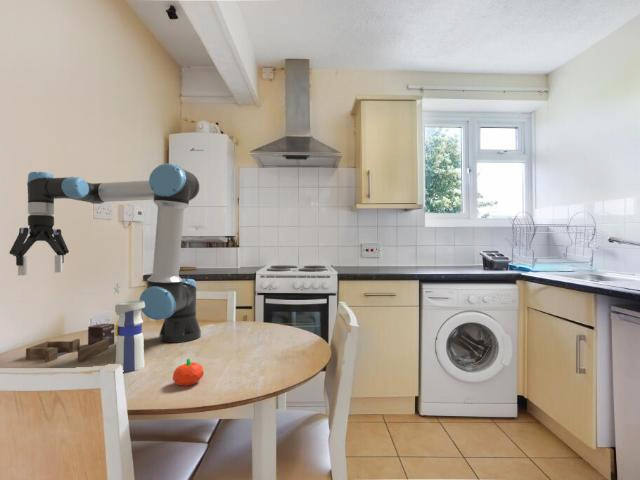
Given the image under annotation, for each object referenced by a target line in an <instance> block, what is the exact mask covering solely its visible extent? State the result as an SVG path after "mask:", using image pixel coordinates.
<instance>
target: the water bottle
mask: <svg viewBox="0 0 640 480" xmlns="http://www.w3.org/2000/svg"><path fill="white" fill-rule="evenodd" d="M120 288H121V286H119V284H118V283H117V282H116V285H115V287H113V289H114V295H117V294H119V293H120V291H119V290H120ZM144 307H145V303H144V301H139V300H126V301H125V300H124V301H119V302H117V303H116V304H115V306H114V312H115V313H116V316H119V317H118V320H117V322H116V324H115V336H116V341H115V364H121V365H122V366H123V370H124V372H123V373H131V372H135V371H140V370H142V369H144V368H145V352H144V350H145V348H144V347H145V346H144V343H145V342H144V339H145V338H144V333H143V330H142V326H143V323H144V320H143V319H142V308H144Z"/></svg>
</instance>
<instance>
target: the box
mask: <svg viewBox="0 0 640 480" xmlns="http://www.w3.org/2000/svg"><path fill="white" fill-rule="evenodd" d="M104 339H109V346H110V345H114V344H115V324H114V323H98V324H93V325H90V326H88V327H87V347H88V346H90V345H92V344H95V343H97V342H99V341H102V340H104Z"/></svg>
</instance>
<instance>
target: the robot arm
mask: <svg viewBox="0 0 640 480" xmlns="http://www.w3.org/2000/svg"><path fill="white" fill-rule="evenodd" d="M26 184H27V214H28V216H27V225H28V227H20V228H19V230H18V231H19V232H18V235H17V237H16V239H15V241H14V242H13V244H12V247H11V249H10V250H9V255H13V257H15V265H16V266H17V275H18V276H28V275H27V274H28V272H27V270H28V269H27V268H28V266H27V264H28V263H27V262H28V259H27V256H25V255H26V253H27V252H28V251H29V250H30V249H31V248H32V246H33V245H34V244H35V243H36V242H38V241H39V242H46V243H47V244H48V245H49V247H50V248H51V249H52V250H53V251H54V253H55V254H56V255H54V273H63V271H64V270H63V268H64V267H63V264H64V263H65V262H64V260H65V259H64V257H65V256H66V255H67V254H69V252H70V251H69V248H68V247H67V244H66V242H65V239H64V237H63V235H62V230H61V229H60V228H57V229H55V228H54V225H55V216H54V215H55V200H57V199H67V200H68V199H69V200H74V201H80V202H86V203H90V204H94V205H95V204H96V205H97V204H98V205H101V204H104V203H107V202H109V203H110V202H128V201H129V202H130V201H148V200H149V201H150V200H152V201H153V203H154V204H155V205H156V207H157V212H156V214H157V216H156V227H155V238H154V240H155V241H154V250H153V251H154V253H153V263H152V274H151V275H150V276H149V277H148V278H147V280H146V288H145V289H144V290H143V292H142V293H141V294H140V296H139V300H138V301H144V303H145V307H144V308H142V310H141V313H143V314H144V315H145V316H146V317H147V318H148V319H151V320H157V321H158V320H163V322H162V325H161V328H160V331H159V334H158V335H159V341H160V342H162V343H182V342H189V341H194V340H196V339H199V338H200V337H202V336H201V335H202V334H201V333H202V331H201V326H200V324H199V321H198V318H197V290H198V289H197V282H196V280H195V279H192V278H181V277H180V276H179V274H180V273H179V272H180V263H181V249H182V236H183V225H184V223H183V222H184V214H185V209H186V208H187V207H188V206H189V205H190V204H189V203H190V201H192V200H193V199H195V198H196V197H197V196H198V194H199V192H200V182H199V180H198V178H197V176H195V175H194V174H193V173H192V172H190V171H188V170H185V169H184V168H182V167H181V166H180V165H177V164H173V163H162V164H159V165H158V166H156V167H155V168H154V169H153V170H152V171H151V173H150V175H149V179H148V180H136V181H135V180H134V181H132V180H131V181H116V182H115V181H114V182H113V181H111V182H97V183H96V182H95V183H92V182H87V181H86V180H85V178H83V177H80V176H79V177H78V176H77V177H75V176H68V177H55V176H54V174H52V173H50V172H45V171H31V172H29V173H28V175H27V182H26ZM53 228H54V229H53ZM28 235H29V236H28Z"/></svg>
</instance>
